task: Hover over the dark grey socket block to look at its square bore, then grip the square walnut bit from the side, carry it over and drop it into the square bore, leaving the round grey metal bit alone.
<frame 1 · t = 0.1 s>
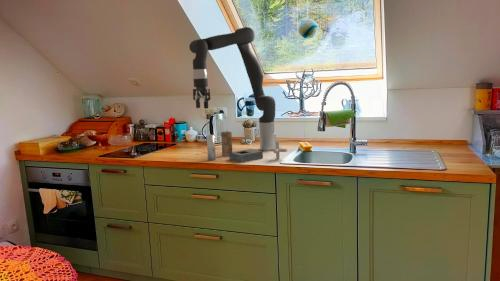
hand: (202, 108, 208), 29 cm above the worktop, tool pointing down, fingers open, 8 cm apart
round metal bit: (211, 160, 214), on the worktop
pipe connector: (277, 159, 210), on the worktop
socket block: (243, 159, 212), on the worktop
square walnut bit: (227, 155, 225), on the worktop
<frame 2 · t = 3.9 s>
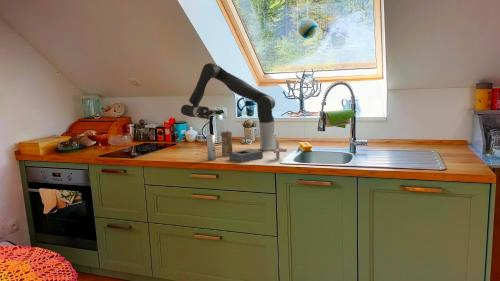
hand: (215, 113, 229), 24 cm above the worktop, tool horizontal, fingers open, 8 cm apart
nothing on the worktop moved.
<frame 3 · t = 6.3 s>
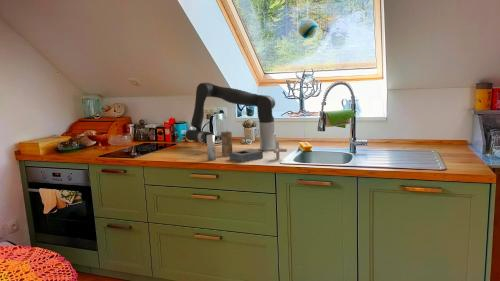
hand: (219, 140, 229), 8 cm above the worktop, tool horizontal, fingers open, 8 cm apart
nothing on the worktop moved.
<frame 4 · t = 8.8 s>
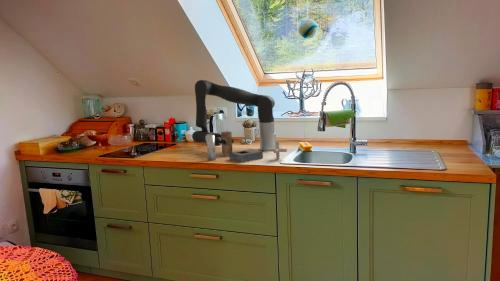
hand: (229, 141, 221), 9 cm above the worktop, tool horizontal, fingers closed on square walnut bit, 4 cm apart
square walnut bit: (227, 155, 225), on the worktop, touching gripper
everything else where it was.
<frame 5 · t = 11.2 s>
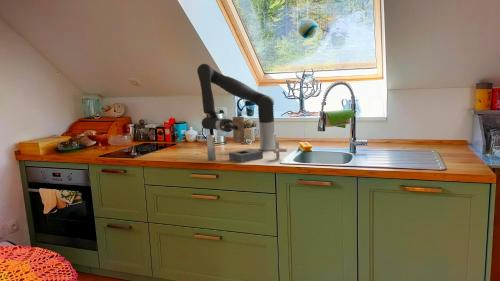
hand: (241, 127, 209), 18 cm above the worktop, tool horizontal, fingers closed on square walnut bit, 4 cm apart
square walnut bit: (239, 142, 213), point 9 cm above the worktop, touching gripper
everything else where it was.
when the fingers open (10 cm above the worktop, at t = 13.8 s): square walnut bit drops 1 cm, resting in socket block.
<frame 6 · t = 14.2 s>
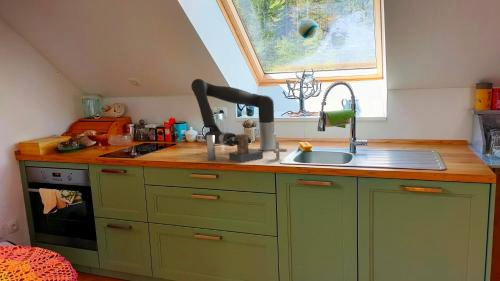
hand: (244, 142, 209), 10 cm above the worktop, tool horizontal, fingers open, 7 cm apart
square walnut bit: (243, 159, 212), resting in socket block
everything else where it was.
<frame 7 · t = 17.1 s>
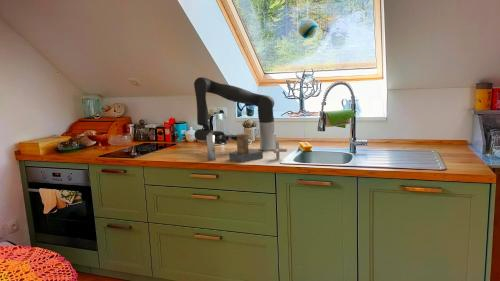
hand: (231, 139, 219), 10 cm above the worktop, tool horizontal, fingers open, 8 cm apart
nothing on the worktop moved.
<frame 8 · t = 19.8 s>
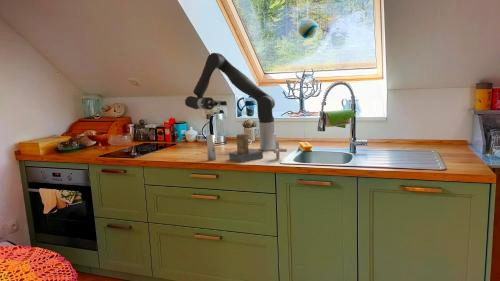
hand: (220, 104, 224), 30 cm above the worktop, tool horizontal, fingers open, 8 cm apart
nothing on the worktop moved.
at the end: square walnut bit 0.0 cm off-centre on the socket block, point 0.0 cm above the socket block's base; square walnut bit tilted 0°; round metal bit moved 0.0 cm from its start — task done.
